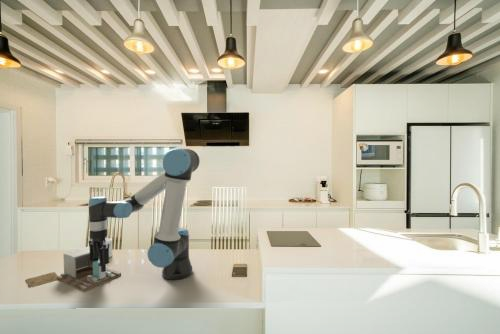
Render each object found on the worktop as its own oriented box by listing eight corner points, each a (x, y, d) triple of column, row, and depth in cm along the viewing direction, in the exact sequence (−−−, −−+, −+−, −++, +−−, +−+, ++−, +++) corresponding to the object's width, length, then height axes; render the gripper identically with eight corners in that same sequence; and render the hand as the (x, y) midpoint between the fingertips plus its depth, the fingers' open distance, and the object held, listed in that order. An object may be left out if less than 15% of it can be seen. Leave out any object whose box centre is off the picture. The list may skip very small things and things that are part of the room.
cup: (107, 259, 155) (106, 242, 155) (87, 259, 156) (87, 241, 156) (115, 254, 164) (115, 238, 163) (96, 253, 165) (96, 237, 164)
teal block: (106, 276, 130) (105, 260, 129) (97, 280, 126) (97, 263, 126) (101, 274, 132) (100, 259, 131) (93, 278, 128) (92, 261, 128)
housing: (99, 268, 139) (99, 249, 139) (74, 278, 129) (74, 257, 128) (88, 265, 144) (88, 246, 144) (64, 273, 133) (63, 253, 133)
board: (121, 275, 135) (121, 268, 135) (84, 291, 119) (84, 283, 119) (93, 265, 147) (93, 259, 147) (57, 278, 131) (56, 271, 131)
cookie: (29, 289, 122) (29, 287, 122) (24, 280, 130) (24, 278, 130) (60, 280, 131) (60, 278, 131) (54, 273, 139) (54, 271, 139)
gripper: (116, 229, 127) (117, 277, 128) (95, 225, 135) (97, 270, 136) (101, 233, 120) (102, 284, 121) (80, 228, 129) (81, 275, 130)
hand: (99, 276), depth 129 cm, fingers closed on teal block, 4 cm apart
